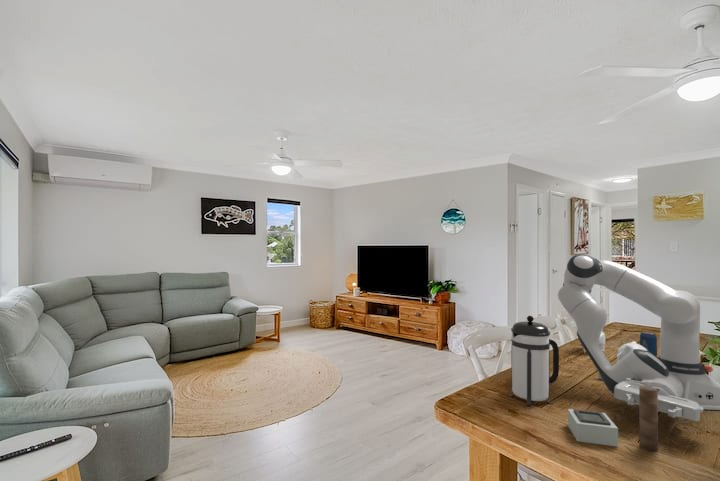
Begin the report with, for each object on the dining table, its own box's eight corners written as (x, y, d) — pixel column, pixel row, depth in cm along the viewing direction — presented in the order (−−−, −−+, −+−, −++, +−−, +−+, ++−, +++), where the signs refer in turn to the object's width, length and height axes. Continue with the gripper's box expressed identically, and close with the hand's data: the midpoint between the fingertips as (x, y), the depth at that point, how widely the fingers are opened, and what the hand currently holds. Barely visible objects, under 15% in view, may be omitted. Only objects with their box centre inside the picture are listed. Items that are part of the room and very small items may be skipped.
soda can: (656, 355, 192) (656, 332, 192) (658, 359, 186) (657, 335, 186) (639, 353, 195) (639, 330, 196) (640, 356, 190) (640, 333, 190)
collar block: (604, 429, 112) (604, 410, 112) (618, 446, 102) (617, 426, 102) (567, 425, 115) (567, 406, 115) (577, 441, 105) (577, 421, 105)
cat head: (648, 378, 158) (648, 349, 158) (612, 370, 167) (612, 343, 168) (656, 371, 167) (656, 343, 168) (622, 364, 177) (622, 338, 178)
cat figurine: (586, 346, 209) (586, 316, 210) (608, 350, 202) (608, 319, 202) (573, 355, 192) (573, 322, 192) (596, 359, 184) (596, 325, 184)
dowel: (653, 445, 103) (653, 386, 104) (661, 452, 100) (660, 392, 100) (637, 442, 104) (636, 385, 105) (643, 450, 101) (643, 390, 101)
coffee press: (555, 412, 123) (555, 321, 124) (504, 401, 132) (504, 316, 132) (559, 395, 138) (559, 314, 138) (513, 386, 146) (513, 310, 147)
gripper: (704, 418, 108) (698, 434, 99) (620, 395, 124) (608, 406, 114) (705, 396, 108) (699, 410, 99) (621, 376, 124) (609, 386, 114)
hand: (650, 408), depth 107 cm, fingers open, 8 cm apart
